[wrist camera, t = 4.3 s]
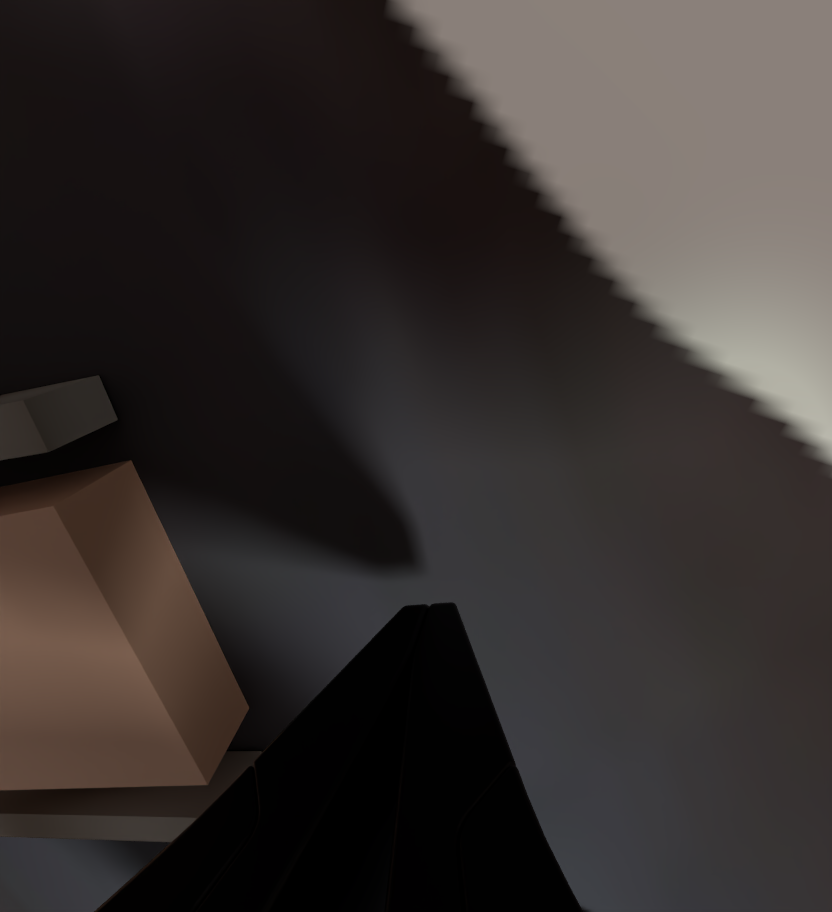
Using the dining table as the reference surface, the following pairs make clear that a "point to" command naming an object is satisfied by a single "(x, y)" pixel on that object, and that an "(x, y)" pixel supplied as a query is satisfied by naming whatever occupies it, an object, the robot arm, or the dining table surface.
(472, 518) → the dining table surface
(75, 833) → the birch dock
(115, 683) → the terracotta tile
